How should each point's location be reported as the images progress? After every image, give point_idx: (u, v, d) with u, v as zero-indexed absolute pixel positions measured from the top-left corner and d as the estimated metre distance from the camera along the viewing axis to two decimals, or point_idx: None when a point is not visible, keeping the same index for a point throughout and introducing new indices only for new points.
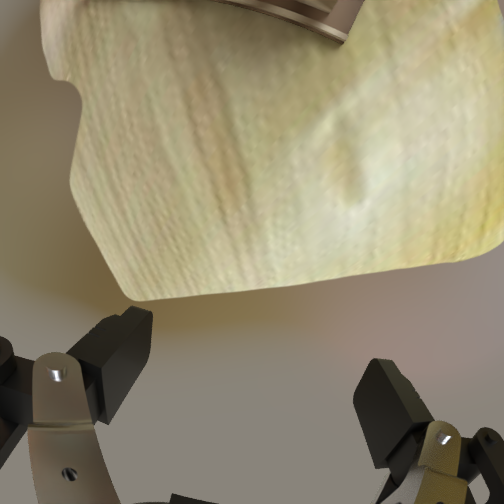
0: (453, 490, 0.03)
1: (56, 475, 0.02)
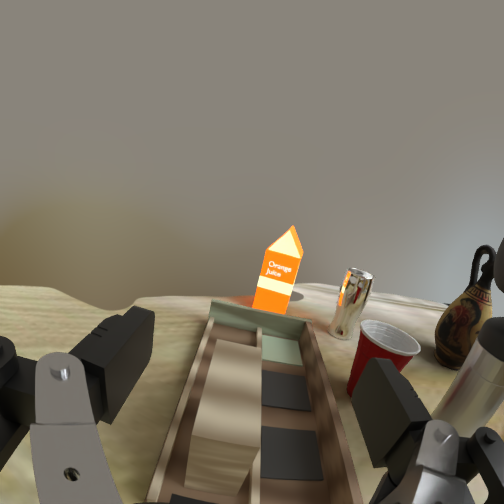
0: (452, 489, 0.03)
1: (58, 475, 0.02)
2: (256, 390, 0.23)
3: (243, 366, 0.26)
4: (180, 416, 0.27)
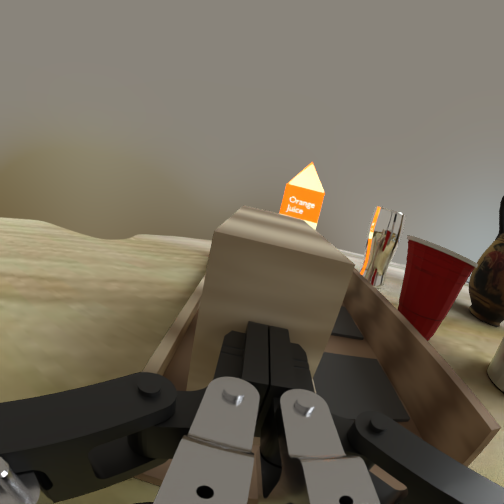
0: (351, 476, 0.03)
1: (190, 488, 0.03)
2: (313, 232, 0.16)
3: (286, 219, 0.19)
4: (182, 324, 0.20)
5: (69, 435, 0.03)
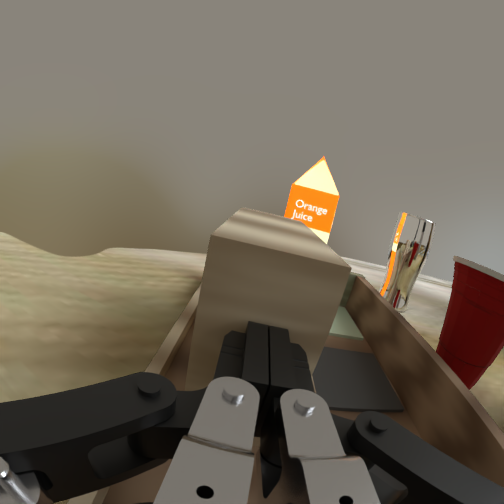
0: (351, 476, 0.03)
1: (190, 488, 0.03)
2: (311, 234, 0.16)
3: (284, 221, 0.19)
4: None
5: (69, 435, 0.03)
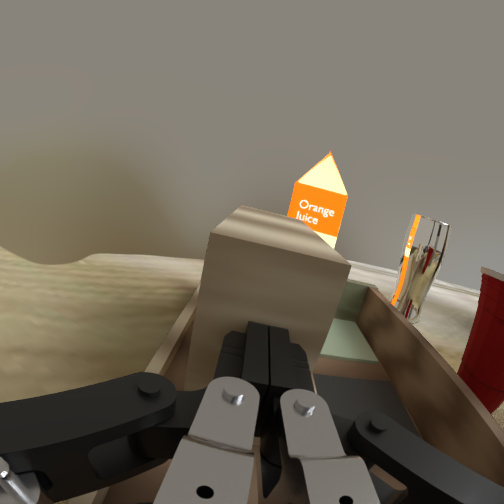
0: (351, 476, 0.03)
1: (190, 488, 0.03)
2: (310, 232, 0.16)
3: (283, 220, 0.19)
4: None
5: (68, 435, 0.03)
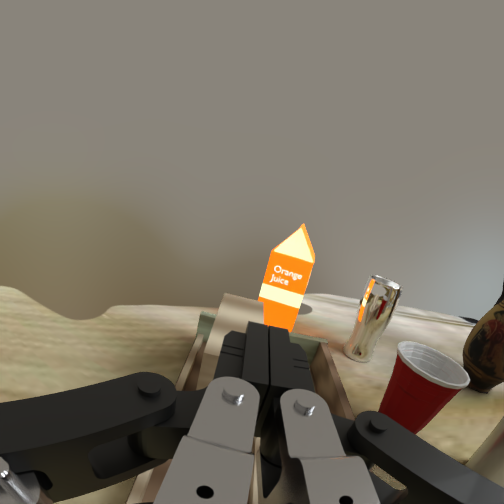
0: (351, 477, 0.03)
1: (190, 488, 0.03)
2: None
3: (248, 311, 0.31)
4: (144, 480, 0.15)
5: (69, 434, 0.03)
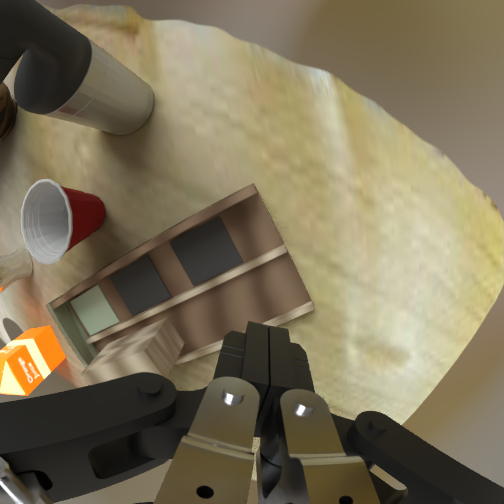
0: (351, 476, 0.03)
1: (190, 488, 0.03)
2: (111, 365, 0.33)
3: (102, 378, 0.33)
4: None
5: (69, 435, 0.03)
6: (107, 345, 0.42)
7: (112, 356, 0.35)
